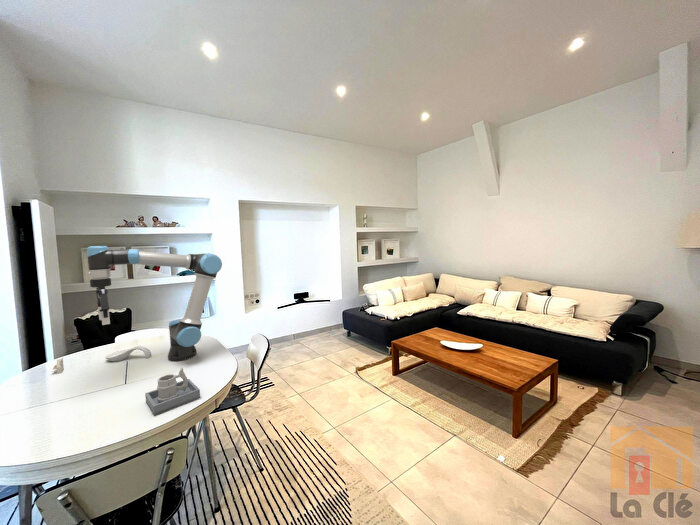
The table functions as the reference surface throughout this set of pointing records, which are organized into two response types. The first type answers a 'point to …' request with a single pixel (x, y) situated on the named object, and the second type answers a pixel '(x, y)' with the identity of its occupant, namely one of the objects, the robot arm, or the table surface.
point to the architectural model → (59, 366)
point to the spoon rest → (127, 353)
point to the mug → (170, 386)
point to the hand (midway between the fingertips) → (104, 321)
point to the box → (183, 398)
